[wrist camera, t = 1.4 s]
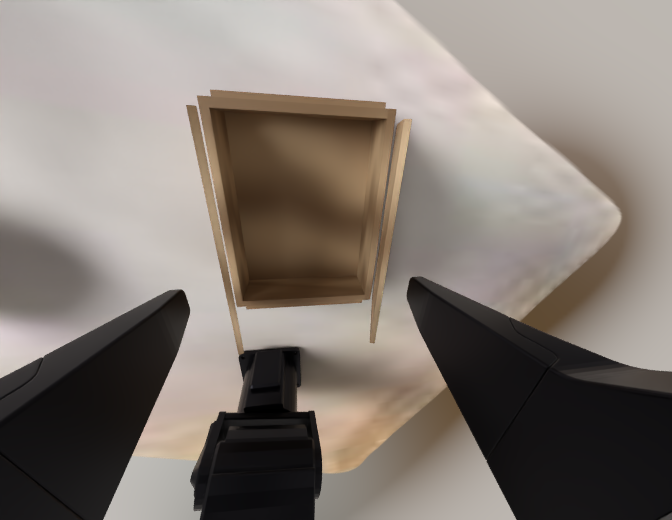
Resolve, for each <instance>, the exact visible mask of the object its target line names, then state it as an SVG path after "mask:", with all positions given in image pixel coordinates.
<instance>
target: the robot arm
mask: <svg viewBox="0 0 672 520" xmlns="http://www.w3.org/2000/svg"><path fill="white" fill-rule="evenodd" d="M407 300H408V303H409V305H410V308H411V311H412V313H413V316H414V319H415V321H416V324H417V326H418V329H419V331H420V333H421V335H422V337H423V339H424V341H425V343H426V345H427V347H428V349H429V351H430V353H431V355H432V357H433V359H434V361H435V362H436V364H437V366H438V368H439V370H440V372H441V374H442V376H443V378H444V380H445V382H446V384H447V386H448V388H449V390H450V391H451V393H452V395H453V397H454V399H455V401H456V403H457V405H458V407H459V409H460V411H461V413H462V415H463V416H464V418H465V421H466V422H467V424H468V426H469V428H470V430H471V432H472V434H473V436H474V438H475V440H476V442H477V444H478V446H479V448H480V450H481V451H482V453H483V455H484V457H485V459H486V460H487V463H488V465H489V467H490V469H491V471H492V473H493V475H494V477H495V479H496V481H497V483H498V485H499V487H500V489H501V491H502V492H503V494H504V496H505V498H506V500H507V502H508V504H509V506H510V508H511V510H512V512H513V514H514V516H515V517H516V519H517V520H672V372H668V371H655V370H647V369H641V368H636V367H632V366H628V365H625V364H622V363H619V362H616V361H613V360H611V359H608V358H605V357H603V356H601V355H598V354H596V353H593V352H591V351H588V350H586V349H583V348H581V347H579V346H576V345H573V344H571V343H569V342H566V341H564V340H561V339H559V338H556V337H554V336H552V335H549V334H547V333H544V332H542V331H540V330H537V329H535V328H533V327H531V326H528V325H526V324H524V323H522V322H519V321H517V320H515V319H513V318H511V317H510V318H509V317H508V316H506V315H504V314H502V313H500V312H498V311H495V310H493V309H491V308H489V307H487V306H484V305H482V304H480V303H478V302H476V301H474V300H471V299H469V298H467V297H465V296H463V295H460V294H458V293H456V292H454V291H452V290H450V289H447V288H445V287H443V286H441V285H439V284H436V283H434V282H432V281H430V280H428V279H426V278H423V277H412V278H410V281H409V285H408V290H407ZM189 315H190V307H189V304H188V301H187V298H186V295H185V292H184V291H183V290H169V291H167V292H165V293H163V294H161V295H159V296H157V297H155V298H153V299H152V300H150V301H148V302H146V303H144V304H142V305H140V306H138V307H136V308H134V309H133V310H131V311H129V312H127V313H125V314H123V315H121V316H119V317H117V318H115V319H113V320H112V321H110V322H108V323H106V324H104V325H102V326H100V327H98V328H96V329H94V330H93V331H91V332H89V333H87V334H85V335H83V336H81V337H79V338H77V339H75V340H73V341H72V342H70V343H68V344H66V345H64V346H62V347H60V348H58V349H56V350H54V351H53V352H51V353H49V354H47V355H45V356H44V358H39V359H37V360H35V361H33V362H31V363H30V364H28V365H26V366H24V367H22V368H20V369H18V370H16V371H14V372H12V373H10V374H8V375H6V376H4V377H2V378H0V520H103V519H104V516H105V514H106V512H107V510H108V508H109V505H110V503H111V501H112V498H113V496H114V494H115V492H116V490H117V487H118V485H119V483H120V481H121V478H122V476H123V474H124V472H125V469H126V467H127V465H128V463H129V460H130V458H131V456H132V454H133V452H134V449H135V447H136V445H137V443H138V440H139V438H140V436H141V434H142V432H143V429H144V427H145V425H146V423H147V420H148V418H149V416H150V414H151V411H152V409H153V407H154V405H155V402H156V400H157V398H158V396H159V394H160V391H161V389H162V387H163V385H164V382H165V380H166V378H167V376H168V373H169V371H170V369H171V367H172V364H173V362H174V360H175V358H176V355H177V353H178V350H179V347H180V344H181V341H182V338H183V334H184V331H185V328H186V325H187V322H188V318H189ZM243 356H245V357H243ZM239 362H240V367H241V372H242V377H243V381H244V383H243V387H242V392H241V397H240V402H239V406H238V411H237V413H226V412H219V415H218V418H217V421H214V423H212V424H211V426H210V429H209V433H208V436H207V439H206V442H205V445H204V448H203V450H202V452H201V454H200V457H199V459H198V461H197V463H196V466H195V468H194V470H193V472H192V475H191V479H190V482H191V484H192V486H193V487H194V489H195V491H194V497H195V499H194V511H200V510H202V512H201V516H200V520H314V513H315V499H318V498H319V495H320V491H321V483H322V455H321V447H320V441H319V435H318V430H317V424H316V418H315V412H314V411H308V412H297V387H300V386H301V373H300V350H299V348H283V349H271V350H259V351H247V352H244V353H243V354H240V355H239Z"/></svg>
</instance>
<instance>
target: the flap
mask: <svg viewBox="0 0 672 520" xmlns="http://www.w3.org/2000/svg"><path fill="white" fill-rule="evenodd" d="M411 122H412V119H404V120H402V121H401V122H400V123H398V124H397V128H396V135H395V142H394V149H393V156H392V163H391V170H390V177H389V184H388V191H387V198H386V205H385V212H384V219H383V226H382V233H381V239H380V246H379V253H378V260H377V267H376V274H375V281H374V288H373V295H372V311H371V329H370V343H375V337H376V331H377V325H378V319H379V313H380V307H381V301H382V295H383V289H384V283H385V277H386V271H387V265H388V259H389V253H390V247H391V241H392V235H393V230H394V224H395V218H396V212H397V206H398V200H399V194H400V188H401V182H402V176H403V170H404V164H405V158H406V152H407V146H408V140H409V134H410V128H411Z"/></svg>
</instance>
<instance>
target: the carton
mask: <svg viewBox="0 0 672 520" xmlns="http://www.w3.org/2000/svg"><path fill="white" fill-rule="evenodd" d="M210 92H211V97H210V96H197V98H198V104H199V109H200V114H201V120H202V125H203V130H204V135H205V141H206V146H207V151H208V156H209V162H210V167H211V172H212V178H213V183H214V188H215V193H216V199H217V204H218V209H219V214H220V220H221V225H222V230H223V236H224V241H225V246H226V251H227V257H228V262H229V267H230V272H231V278H232V283H233V288H234V294H235V299H236V304H237V307H243V306H246V308H247V309H260V308H277V307H294V306H312V305H329V304H346V303H362V300H368V299H370V296H371V289H372V282H373V274H374V267H375V260H376V253H377V246H378V238H379V231H380V224H381V217H382V210H383V203H384V195H385V188H386V181H387V174H388V167H389V159H390V152H391V145H392V138H393V131H394V123H395V116H396V109H385V106H386V103H385V102H372V101H358V100H344V99H331V98H317V97H304V96H290V95H276V94H263V93H249V92H235V91H222V90H210Z"/></svg>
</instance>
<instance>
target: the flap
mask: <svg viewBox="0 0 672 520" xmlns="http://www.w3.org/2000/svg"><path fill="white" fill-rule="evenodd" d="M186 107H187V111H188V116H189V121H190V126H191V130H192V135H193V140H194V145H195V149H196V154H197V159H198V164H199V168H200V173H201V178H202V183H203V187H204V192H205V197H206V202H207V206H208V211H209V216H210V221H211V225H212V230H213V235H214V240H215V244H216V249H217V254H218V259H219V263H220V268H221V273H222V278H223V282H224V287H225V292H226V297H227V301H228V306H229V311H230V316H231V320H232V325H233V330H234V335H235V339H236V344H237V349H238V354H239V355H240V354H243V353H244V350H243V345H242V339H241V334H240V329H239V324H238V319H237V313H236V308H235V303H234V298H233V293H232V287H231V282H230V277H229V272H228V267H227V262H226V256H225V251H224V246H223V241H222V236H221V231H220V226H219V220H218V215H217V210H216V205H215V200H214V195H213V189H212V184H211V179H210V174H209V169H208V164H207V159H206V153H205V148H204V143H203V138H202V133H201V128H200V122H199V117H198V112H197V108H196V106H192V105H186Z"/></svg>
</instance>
